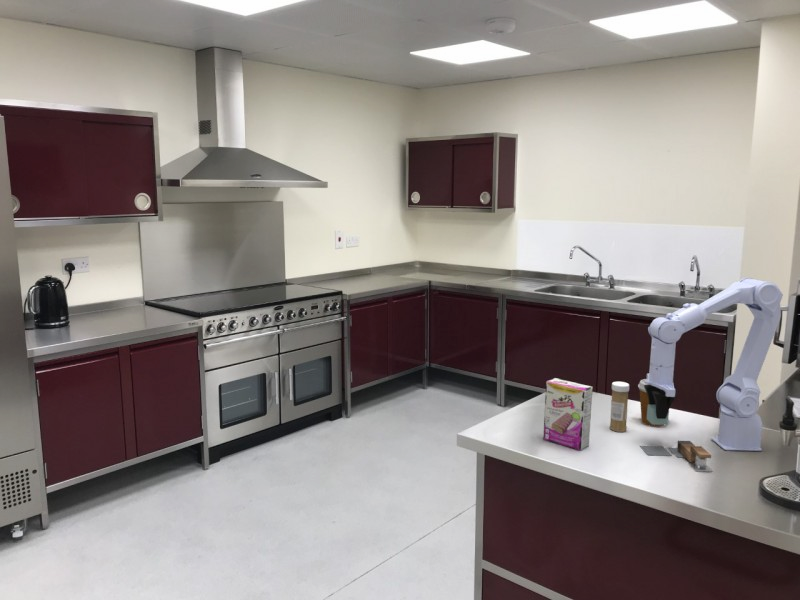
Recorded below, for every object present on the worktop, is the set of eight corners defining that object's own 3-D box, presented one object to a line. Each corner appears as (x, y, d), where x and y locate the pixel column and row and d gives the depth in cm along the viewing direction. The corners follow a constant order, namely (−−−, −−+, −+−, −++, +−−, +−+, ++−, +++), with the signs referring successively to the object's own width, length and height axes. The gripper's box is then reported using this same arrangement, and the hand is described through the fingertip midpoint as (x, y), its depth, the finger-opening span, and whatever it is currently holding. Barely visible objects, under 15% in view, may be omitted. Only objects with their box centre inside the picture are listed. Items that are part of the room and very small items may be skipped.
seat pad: (662, 446, 162) (662, 446, 162) (672, 455, 156) (672, 455, 156) (639, 446, 163) (639, 445, 163) (647, 455, 157) (647, 454, 157)
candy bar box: (542, 440, 166) (544, 381, 164) (551, 435, 170) (554, 377, 167) (580, 451, 159) (584, 389, 156) (589, 446, 162) (593, 385, 160)
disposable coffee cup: (649, 415, 186) (652, 376, 185) (678, 425, 178) (681, 384, 177) (628, 420, 182) (631, 381, 180) (656, 431, 174) (659, 389, 172)
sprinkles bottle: (629, 430, 174) (632, 384, 172) (619, 433, 171) (622, 386, 169) (616, 425, 178) (619, 380, 176) (605, 428, 175) (608, 382, 173)
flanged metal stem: (705, 464, 151) (706, 452, 151) (712, 471, 147) (713, 458, 147) (688, 464, 151) (689, 451, 151) (695, 471, 147) (696, 458, 147)
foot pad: (691, 448, 161) (691, 448, 161) (701, 458, 155) (701, 457, 155) (668, 448, 161) (668, 447, 161) (677, 457, 155) (677, 456, 155)
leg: (710, 470, 147) (712, 454, 147) (697, 469, 147) (699, 454, 147) (689, 450, 159) (690, 436, 159) (677, 449, 159) (678, 435, 159)
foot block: (661, 419, 164) (663, 405, 163) (667, 424, 160) (669, 410, 159) (646, 419, 164) (647, 404, 163) (651, 424, 160) (653, 409, 159)
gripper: (636, 357, 167) (633, 405, 169) (656, 371, 152) (652, 424, 154) (663, 357, 166) (659, 406, 168) (685, 372, 152) (681, 425, 154)
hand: (657, 415), depth 161 cm, fingers closed on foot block, 4 cm apart
